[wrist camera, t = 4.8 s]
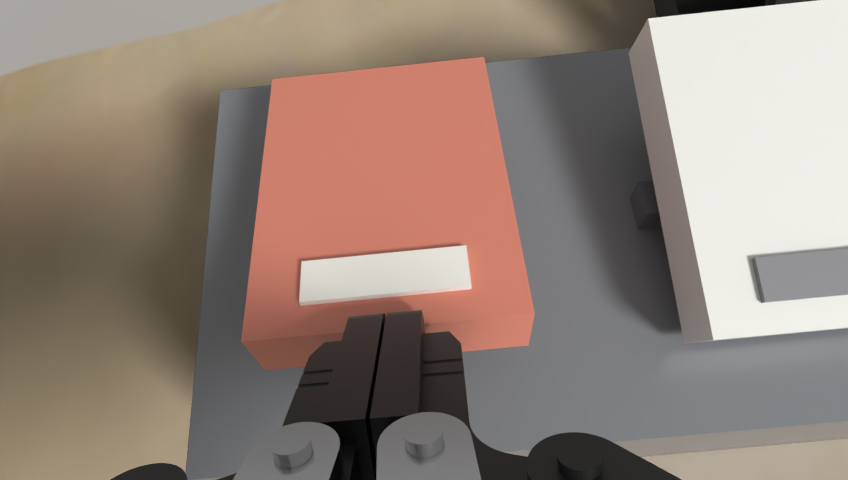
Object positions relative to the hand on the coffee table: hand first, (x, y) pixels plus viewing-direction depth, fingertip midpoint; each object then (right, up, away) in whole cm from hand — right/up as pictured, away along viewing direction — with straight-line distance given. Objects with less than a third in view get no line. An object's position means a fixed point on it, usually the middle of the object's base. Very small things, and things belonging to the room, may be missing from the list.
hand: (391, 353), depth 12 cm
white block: (+10, +4, +3) cm, 11 cm away
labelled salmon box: (0, +3, +3) cm, 4 cm away
